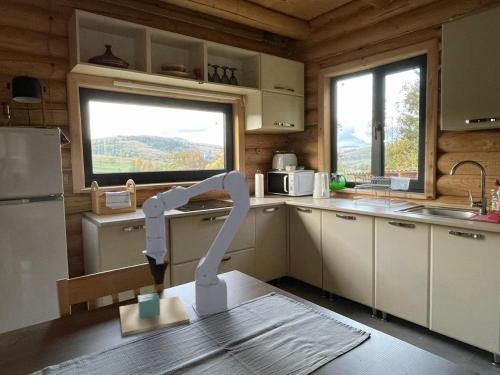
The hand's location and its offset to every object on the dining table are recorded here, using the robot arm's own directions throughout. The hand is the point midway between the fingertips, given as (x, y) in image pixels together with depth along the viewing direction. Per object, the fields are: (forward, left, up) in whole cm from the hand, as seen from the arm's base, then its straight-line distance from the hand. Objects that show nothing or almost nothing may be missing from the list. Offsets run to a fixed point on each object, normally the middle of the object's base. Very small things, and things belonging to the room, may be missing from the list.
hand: (157, 279), depth 102 cm
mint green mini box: (+3, +4, -8) cm, 10 cm away
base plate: (+2, +4, -9) cm, 10 cm away
